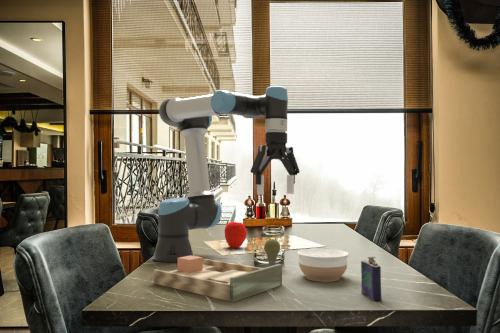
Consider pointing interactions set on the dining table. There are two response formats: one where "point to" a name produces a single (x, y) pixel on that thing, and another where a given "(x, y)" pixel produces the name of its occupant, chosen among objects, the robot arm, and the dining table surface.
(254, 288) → the box
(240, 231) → the apple
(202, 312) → the dining table surface
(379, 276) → the flask
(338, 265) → the bowl
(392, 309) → the dining table surface
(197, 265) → the block
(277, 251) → the light bulb
